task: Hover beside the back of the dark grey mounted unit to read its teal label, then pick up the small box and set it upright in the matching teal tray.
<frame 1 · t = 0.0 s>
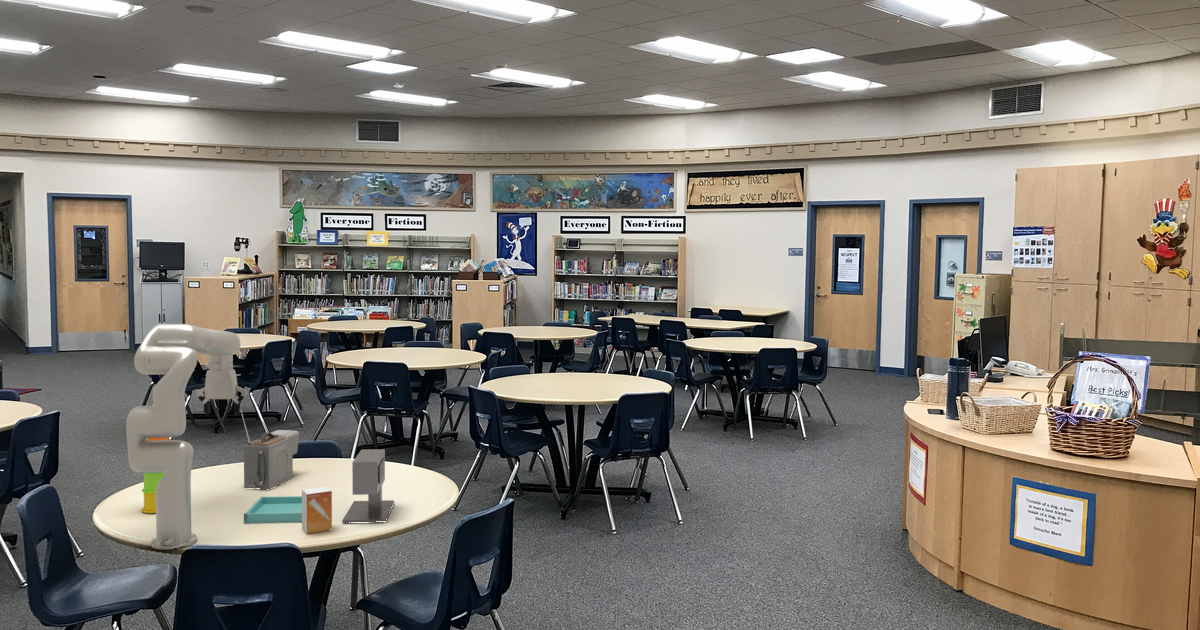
hand: (222, 414, 295), 31 cm above the table, tool pointing down, fingers open, 9 cm apart
stacking cups: (158, 510, 285), on the table
small box: (317, 530, 267), on the table
mounted unit: (369, 513, 285), on the table
teal tray: (286, 513, 284), on the table
grey portable radio: (270, 482, 322), on the table
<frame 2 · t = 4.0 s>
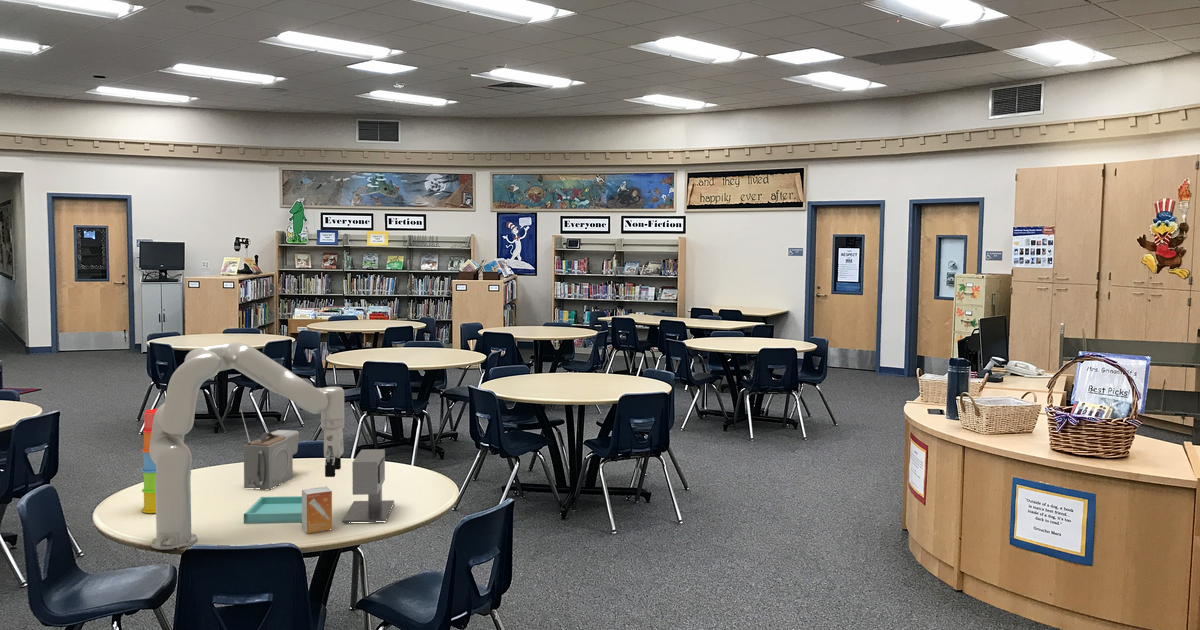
hand: (333, 472, 283), 14 cm above the table, tool pointing down, fingers open, 9 cm apart
nothing on the table moved.
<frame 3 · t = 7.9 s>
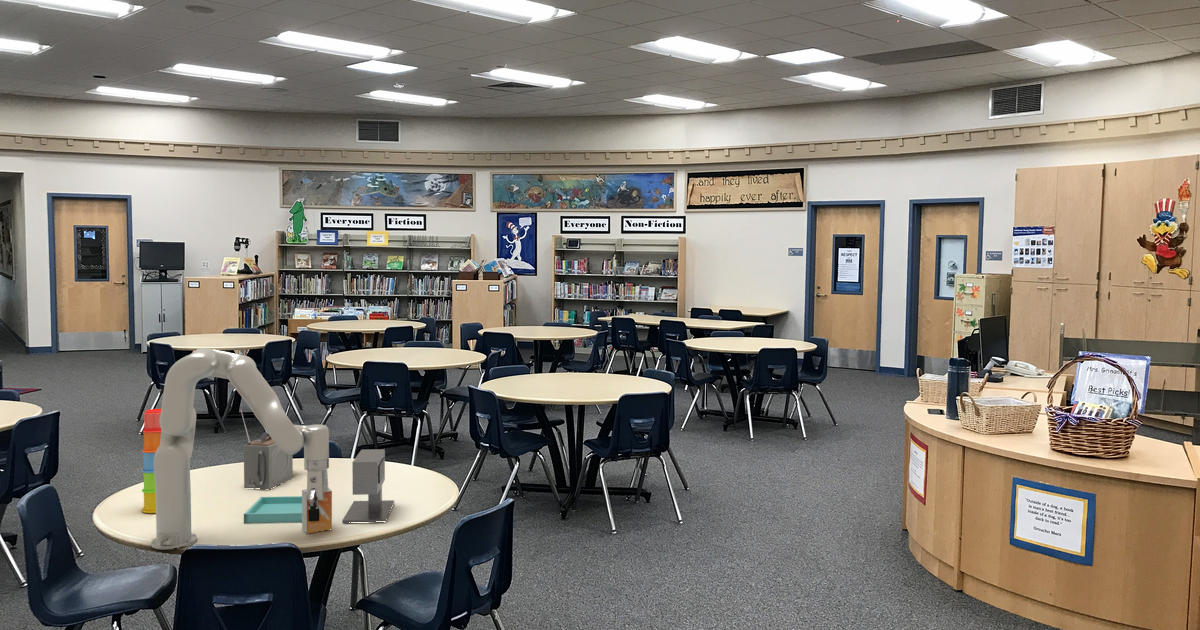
hand: (317, 516, 267), 4 cm above the table, tool pointing down, fingers closed on small box, 8 cm apart
small box: (317, 530, 267), on the table, touching gripper
everything else where it was.
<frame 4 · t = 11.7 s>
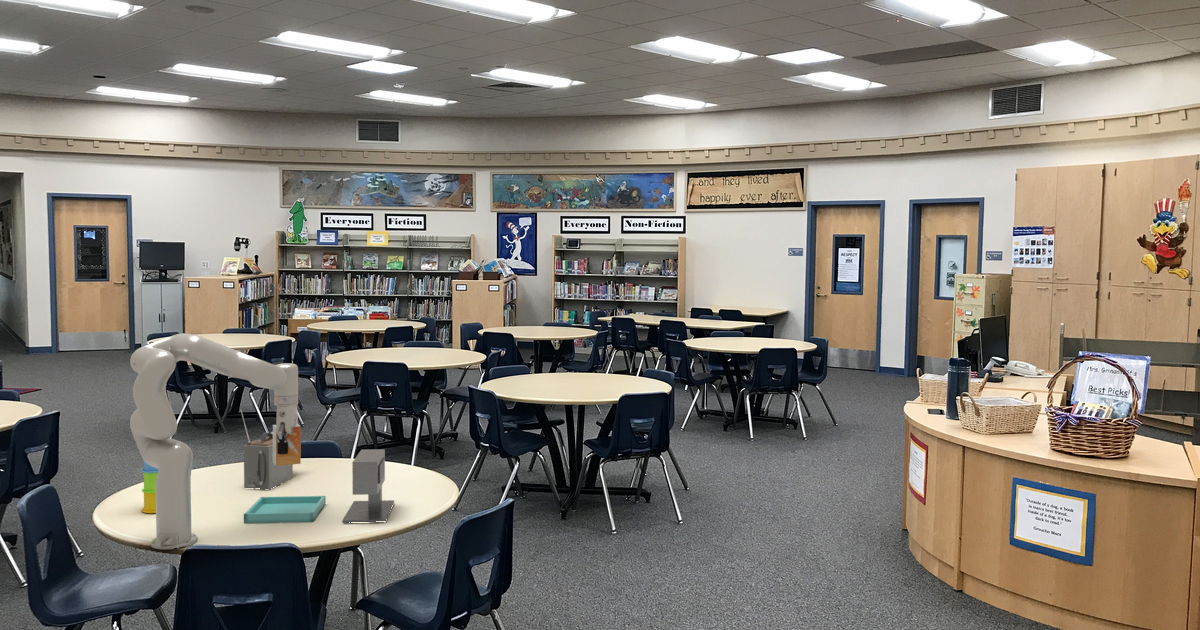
hand: (286, 450, 281), 22 cm above the table, tool pointing down, fingers closed on small box, 8 cm apart
small box: (286, 463, 282), point 17 cm above the table, touching gripper
everything else where it was.
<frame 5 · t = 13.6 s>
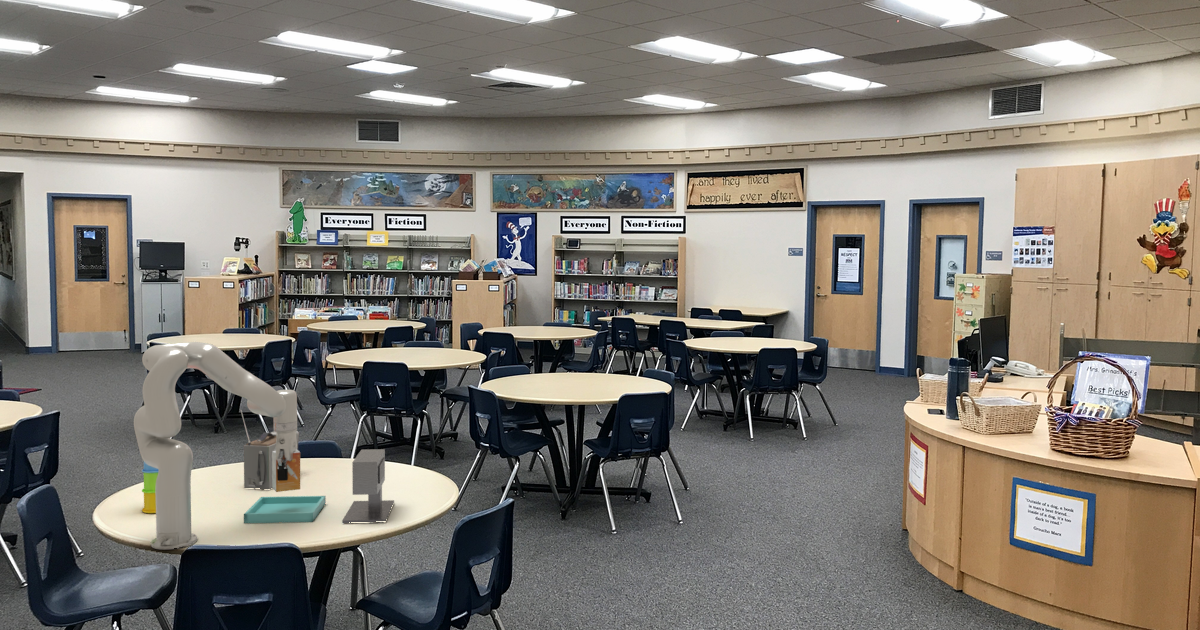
hand: (286, 476, 283), 13 cm above the table, tool pointing down, fingers closed on small box, 8 cm apart
small box: (286, 489, 283), point 8 cm above the table, touching gripper
everything else where it was.
when the fingers open (7 cm above the table, at t = 15.4 s): small box drops 2 cm, resting on teal tray.
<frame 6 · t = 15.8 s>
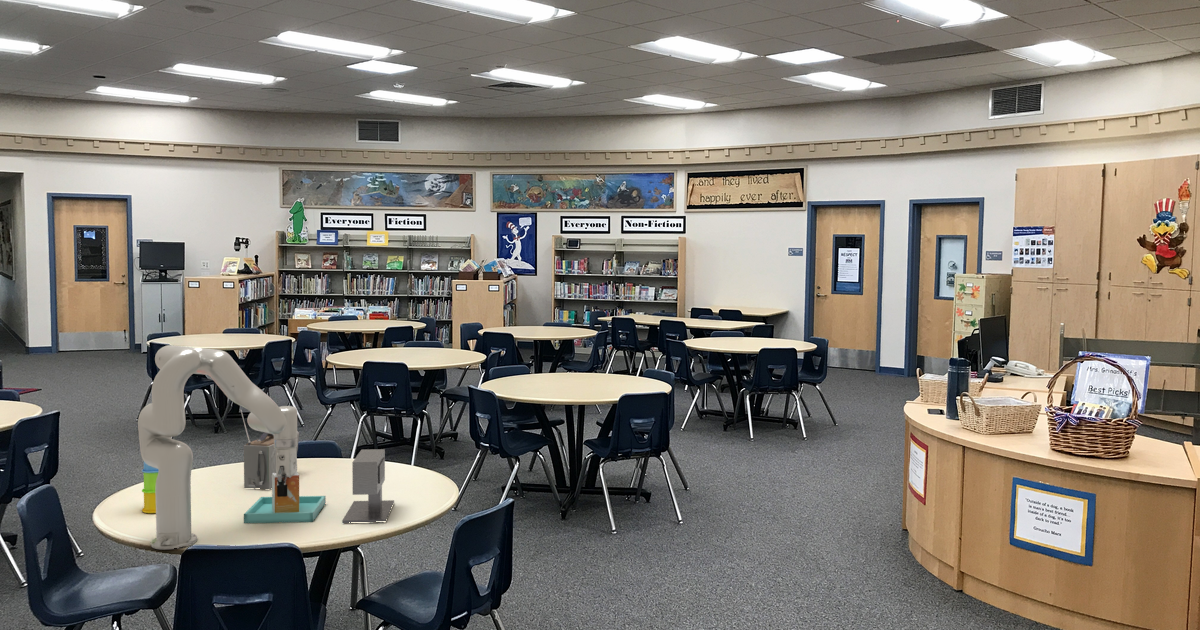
hand: (286, 492, 283), 7 cm above the table, tool pointing down, fingers open, 9 cm apart
small box: (285, 511, 283), point 1 cm above the table, touching teal tray
everything else where it was.
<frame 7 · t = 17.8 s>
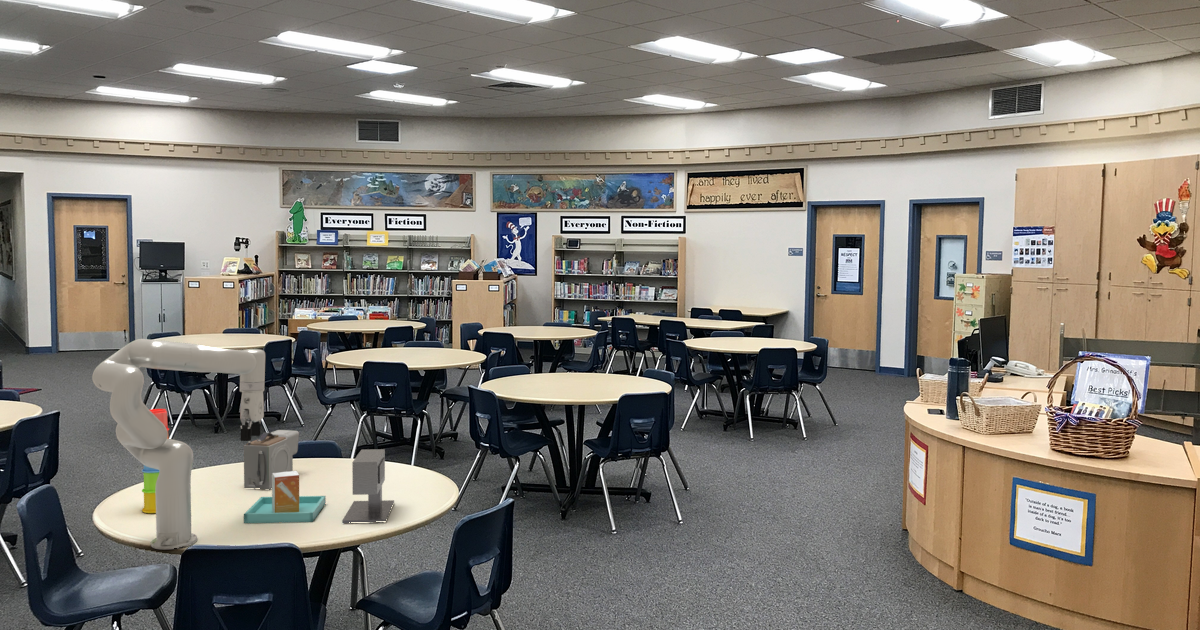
hand: (250, 438, 274), 28 cm above the table, tool pointing down, fingers open, 9 cm apart
nothing on the table moved.
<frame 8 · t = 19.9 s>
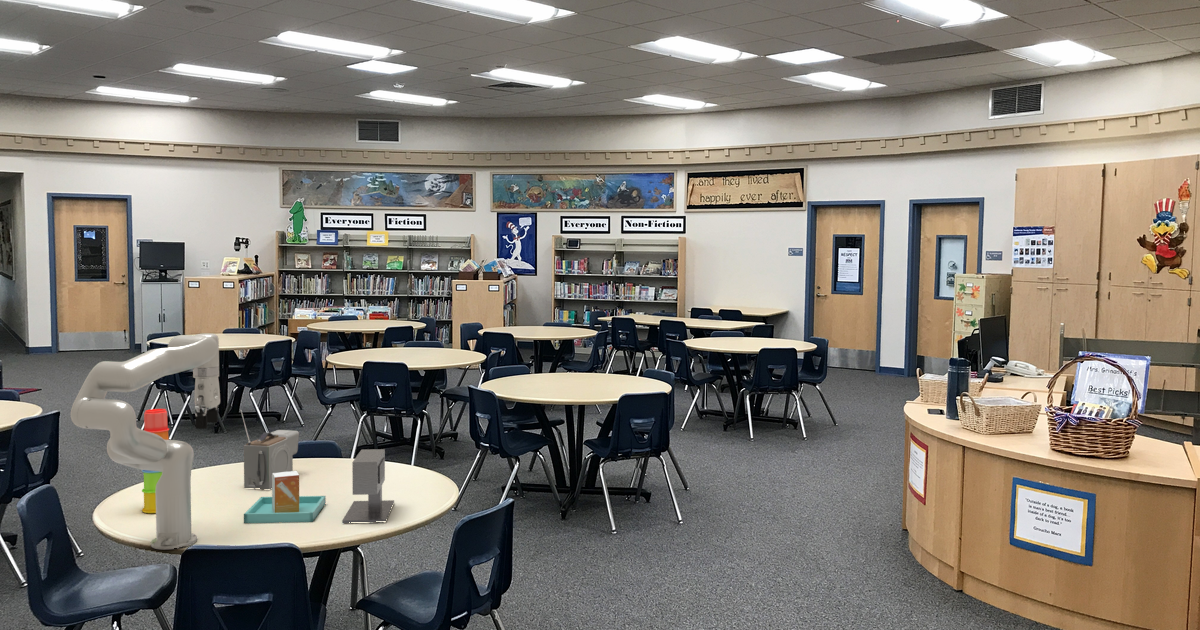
hand: (207, 425, 266), 33 cm above the table, tool pointing down, fingers open, 9 cm apart
nothing on the table moved.
at the end: small box inside the target area on the teal tray (0.2 cm from its centre), point 0.6 cm above the teal tray's base; small box tilted 0°; the gripper is holding nothing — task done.
